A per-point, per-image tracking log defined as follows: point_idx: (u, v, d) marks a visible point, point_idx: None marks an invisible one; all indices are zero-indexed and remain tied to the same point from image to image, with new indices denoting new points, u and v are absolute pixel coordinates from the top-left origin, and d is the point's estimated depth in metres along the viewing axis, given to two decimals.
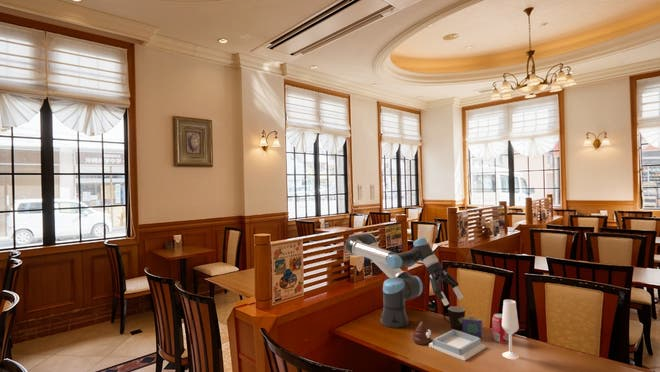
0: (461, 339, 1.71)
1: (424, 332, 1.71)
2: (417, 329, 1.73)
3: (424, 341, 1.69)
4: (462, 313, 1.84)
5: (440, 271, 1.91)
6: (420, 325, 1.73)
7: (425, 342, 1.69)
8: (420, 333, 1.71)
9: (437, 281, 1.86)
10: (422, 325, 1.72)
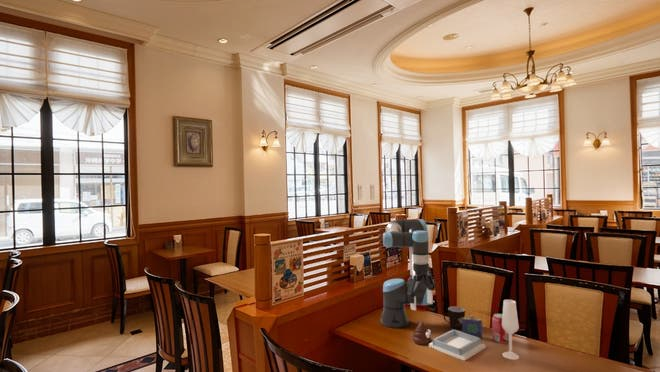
0: (461, 339, 1.71)
1: (424, 332, 1.71)
2: (417, 329, 1.73)
3: (424, 341, 1.69)
4: (462, 313, 1.84)
5: (424, 272, 1.74)
6: (420, 325, 1.73)
7: (425, 342, 1.69)
8: (420, 333, 1.71)
9: (416, 283, 1.71)
10: (422, 325, 1.72)
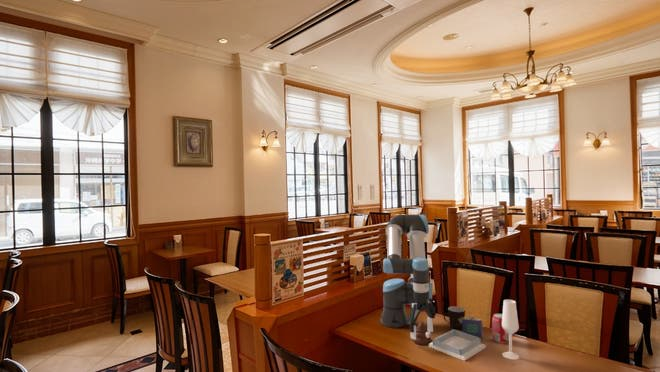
0: (461, 339, 1.71)
1: (424, 332, 1.71)
2: (417, 329, 1.73)
3: (424, 341, 1.69)
4: (462, 313, 1.84)
5: (424, 300, 1.73)
6: (420, 325, 1.73)
7: (425, 342, 1.69)
8: (420, 333, 1.71)
9: (416, 311, 1.70)
10: (422, 325, 1.73)
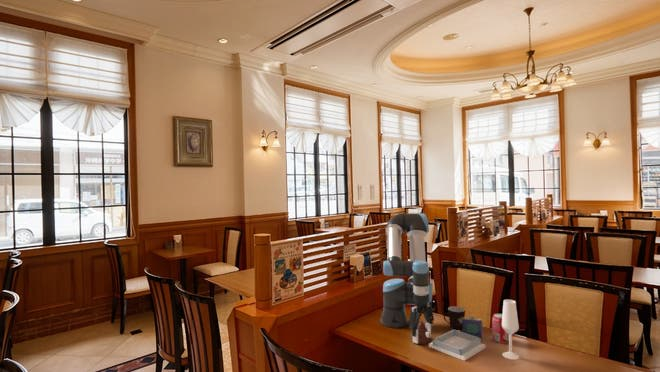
0: (461, 339, 1.71)
1: (424, 332, 1.71)
2: None
3: (424, 341, 1.69)
4: (462, 313, 1.84)
5: None
6: (420, 325, 1.73)
7: (425, 342, 1.69)
8: (420, 333, 1.71)
9: (417, 315, 1.71)
10: (422, 325, 1.73)
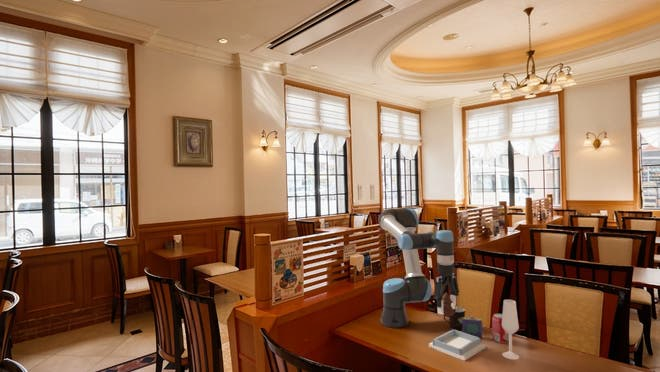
0: (461, 339, 1.71)
1: (449, 303, 1.64)
2: None
3: (450, 312, 1.63)
4: (462, 313, 1.84)
5: (450, 273, 1.67)
6: (445, 296, 1.67)
7: (450, 313, 1.63)
8: (445, 304, 1.64)
9: (442, 285, 1.65)
10: (447, 296, 1.66)
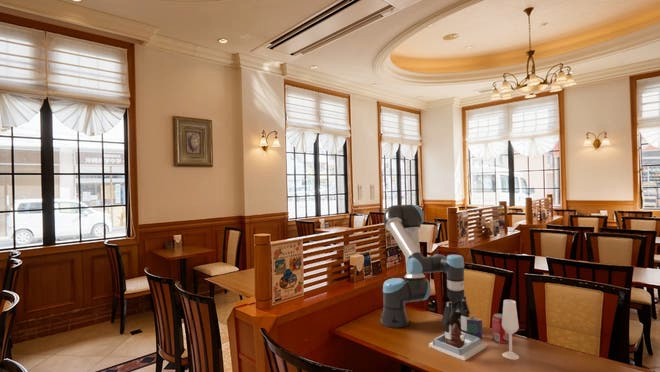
0: None
1: (458, 335, 1.63)
2: None
3: (459, 344, 1.61)
4: None
5: (459, 299, 1.66)
6: (454, 327, 1.65)
7: (460, 345, 1.61)
8: (454, 336, 1.63)
9: (451, 310, 1.63)
10: (456, 327, 1.65)
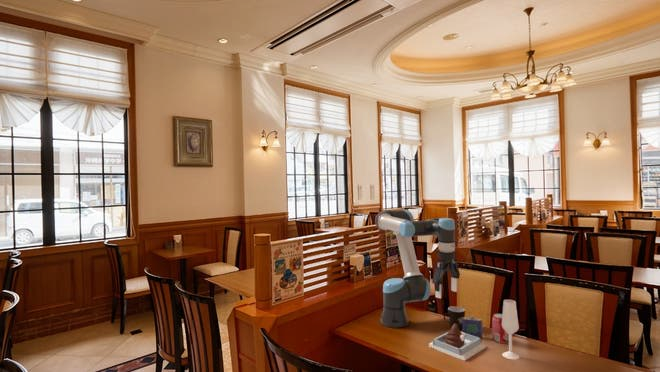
0: None
1: (458, 335, 1.63)
2: (450, 332, 1.65)
3: (459, 344, 1.61)
4: (462, 313, 1.84)
5: (450, 260, 1.72)
6: (454, 327, 1.65)
7: (460, 345, 1.61)
8: (454, 336, 1.63)
9: (441, 271, 1.69)
10: (456, 327, 1.65)
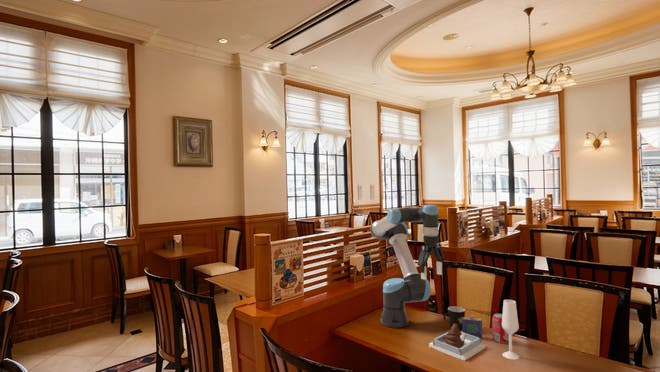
0: None
1: (458, 335, 1.63)
2: (450, 332, 1.65)
3: (459, 344, 1.61)
4: (462, 313, 1.84)
5: (434, 244, 1.83)
6: (453, 327, 1.65)
7: (460, 345, 1.61)
8: (454, 336, 1.63)
9: (426, 254, 1.80)
10: (456, 327, 1.65)
